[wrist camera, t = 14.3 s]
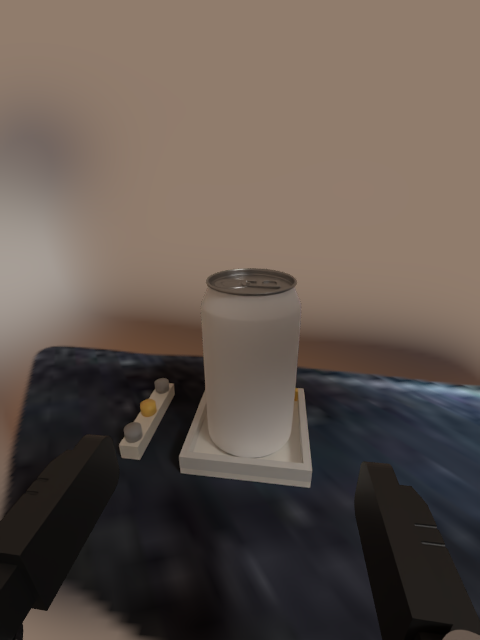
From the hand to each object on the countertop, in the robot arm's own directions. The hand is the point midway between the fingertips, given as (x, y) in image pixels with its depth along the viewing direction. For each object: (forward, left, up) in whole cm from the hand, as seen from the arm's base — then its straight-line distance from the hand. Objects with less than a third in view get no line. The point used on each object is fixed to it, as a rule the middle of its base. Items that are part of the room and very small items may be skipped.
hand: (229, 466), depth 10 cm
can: (0, -11, -9) cm, 15 cm away
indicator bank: (+9, -12, -9) cm, 17 cm away
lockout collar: (0, -12, -9) cm, 15 cm away
